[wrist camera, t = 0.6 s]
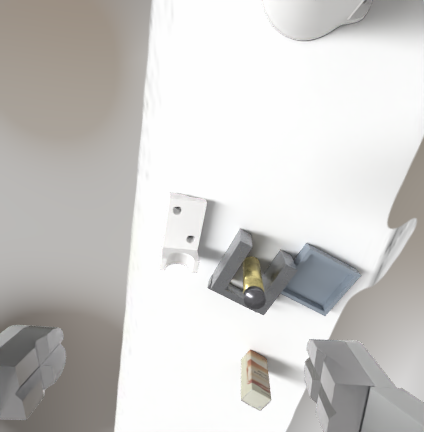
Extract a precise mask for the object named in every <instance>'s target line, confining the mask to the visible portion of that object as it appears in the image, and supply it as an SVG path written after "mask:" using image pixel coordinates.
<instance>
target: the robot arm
mask: <svg viewBox="0 0 424 432" xmlns="http://www.w3.org/2000/svg"><path fill="white" fill-rule="evenodd" d="M372 1H373V0H365V3H363V2H364V0H262V4H263V8H264V11H265V14H266V16H267V18H268V20H269V21H270V23H271V24H272V26H273V27H274V28H275V29H276V30H277V31H278V32H280V33H281V34H283V35H284V36H286V37H288V38H291V39H295V40H312V39H316V38H319V37H321V36H323V35H325V34H327V33H329V32H330V31H332V30H334V29H335V28H337V27H339V26H341V25H344V24H350V23H355V22H358V21H360V20H362V19H363V18H364V16H365V15H366V14H367V12H368V10H369V8H370V6H371V3H372ZM63 339H64V337H63V332H62V329H60V328H57V327H42V326H25V325H14V326H10V327H8V328H7V329H6V330H4V331H3V332H2V333H0V419H7V420H11V419H12V420H27V418H28V417H29V416H30V414H31V413H32V412H33V411H34V409H35V408H36V407H37V405H38V404H39V403H40V401H41V400H42V399H43V398H44V391H45V389H46V388H47V387H49V386H51V385H52V384H54V383H55V382H56V380H57V379H58V378H59V376H60V375H61V373H62V371H63V368H64V366H65V362H66V350H65V349H64V347H63V346H62V345H61V344H60V343H61V342H62V340H63ZM307 352H308V354H309V358H308V359H307V360H306V361H305V368H304V373H305V382H306V386H307V390H308V392H309V395H310V397H311V398H312V399H313V400H314V401H315V402H316V403H317V409H316V414H317V417H318V420H319V422H320V425H321V427H322V430H323V432H424V402H422V401H421V400H419V399H418V398H416V397H415V396H413V395H412V394H410V393H409V392H407V391H406V390H404V389H402V388H397V387H396V386H395V385H394V384H393V382H392V381H391V380H390V378H389V377H388V376H387V375H386V373H385V372H384V371H383V369H382V368H381V367H380V366H379V364H378V363H377V362H376V361H375V359H374V358H373V357H372V355H371V354H370V353H369V352H368V350H367V349H366V348H365V346H364V345H363V344H362V343H361V342H359V341H355V340H341V341H339V340H314V339H309V341H308V344H307Z"/></svg>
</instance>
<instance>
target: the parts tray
mask: <svg viewBox="0 0 424 432" xmlns="http://www.w3.org/2000/svg"><path fill="white" fill-rule="evenodd" d="M294 263H295V265H296V267H297V270H298V271H297V272H296V273H295V275H294V276H293V277H292V279H291V280H290V281H289V283H288V284H287V285H286V287H285V288H284V289H283V290H282V292H281V294H282V295H284V296H286V297H288V298H290V299H292V300H294V301H296V302H298V303H300V304H302V305H304V306H306V307H308V308H310V309H312V310H314V311H316V312H318V313H320V314H322V315H324V316H326V314H327V313H328V312H329V311H330V310H331V309H332V308H333V307H334V305H335V304H336V303H337V302H338V301H339V300H340V299H341V298H342V296H343V295H344V294H345V293H346V292H347V291H348V290H349V289H350V287H351V286H352V285H353V284H354V283H355V282H356V281H357V280H358V278H359V277H360V276H361V275H360V273H359V272H358V271H357V270H356V269H355V268H353V267H351V266H349V265H347V264H346V263H344V262H342V261H340V260H338V259H336V258H334V257H332V256H330V255H328V254H326V253H325V252H323V251H321V250H319V249H317V248H315V247H313V246H311V245H309V244H307V243H306V244H305V246H304V247H303V249H302V250H301V251H300V253H299V254H298V255H297V257H296V258H295V259H294Z"/></svg>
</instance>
